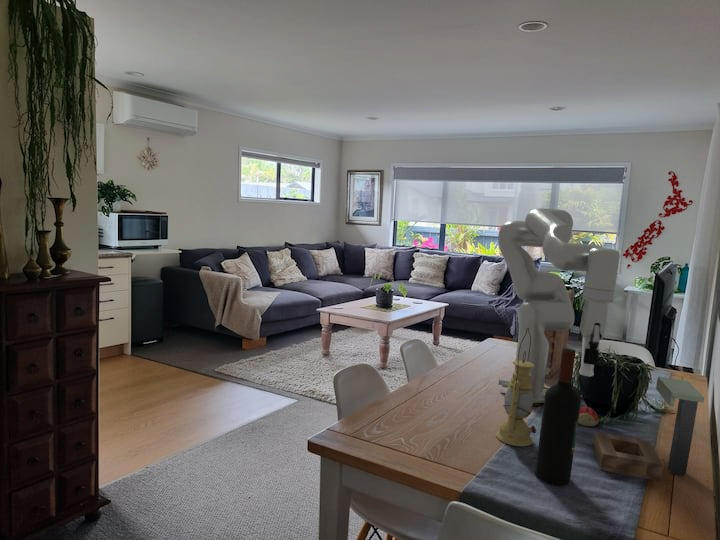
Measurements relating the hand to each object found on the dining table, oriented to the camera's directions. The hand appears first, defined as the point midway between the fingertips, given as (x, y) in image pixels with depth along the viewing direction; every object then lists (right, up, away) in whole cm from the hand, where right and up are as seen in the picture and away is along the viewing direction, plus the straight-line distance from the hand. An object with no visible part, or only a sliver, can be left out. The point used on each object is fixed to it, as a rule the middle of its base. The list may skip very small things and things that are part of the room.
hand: (588, 360), depth 143 cm
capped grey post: (+13, -24, -15) cm, 31 cm away
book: (+10, -14, +61) cm, 64 cm away
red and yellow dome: (+5, -20, +13) cm, 24 cm away
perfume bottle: (0, -4, +1) cm, 4 cm away
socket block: (+4, -23, -12) cm, 26 cm away
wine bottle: (-18, -23, -22) cm, 36 cm away
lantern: (-21, -20, -3) cm, 29 cm away
